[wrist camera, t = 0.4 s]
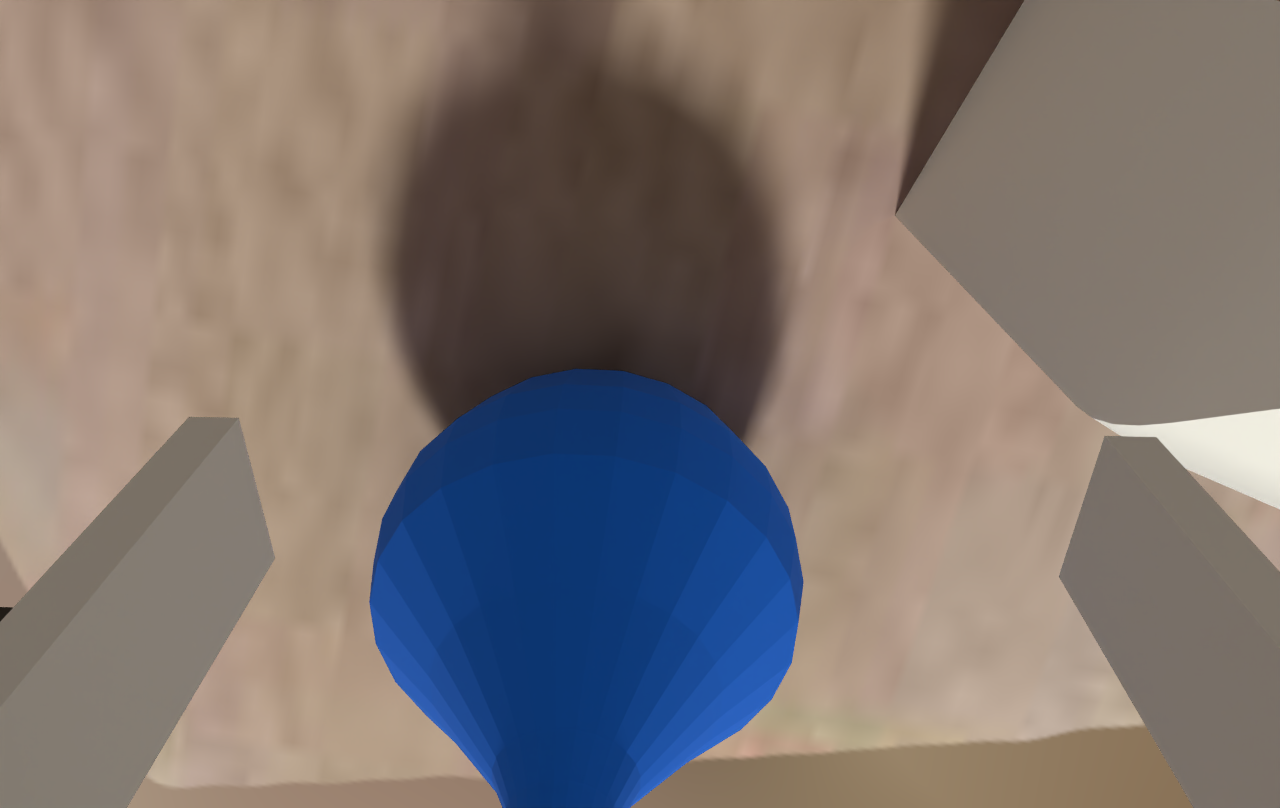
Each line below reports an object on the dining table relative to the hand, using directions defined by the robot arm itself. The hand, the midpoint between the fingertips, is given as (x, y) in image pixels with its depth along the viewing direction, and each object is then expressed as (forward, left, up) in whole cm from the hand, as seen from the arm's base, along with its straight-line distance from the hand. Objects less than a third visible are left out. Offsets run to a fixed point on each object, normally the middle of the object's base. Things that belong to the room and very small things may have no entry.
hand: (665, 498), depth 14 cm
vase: (+16, -6, -27) cm, 32 cm away
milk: (+4, +18, -27) cm, 33 cm away
